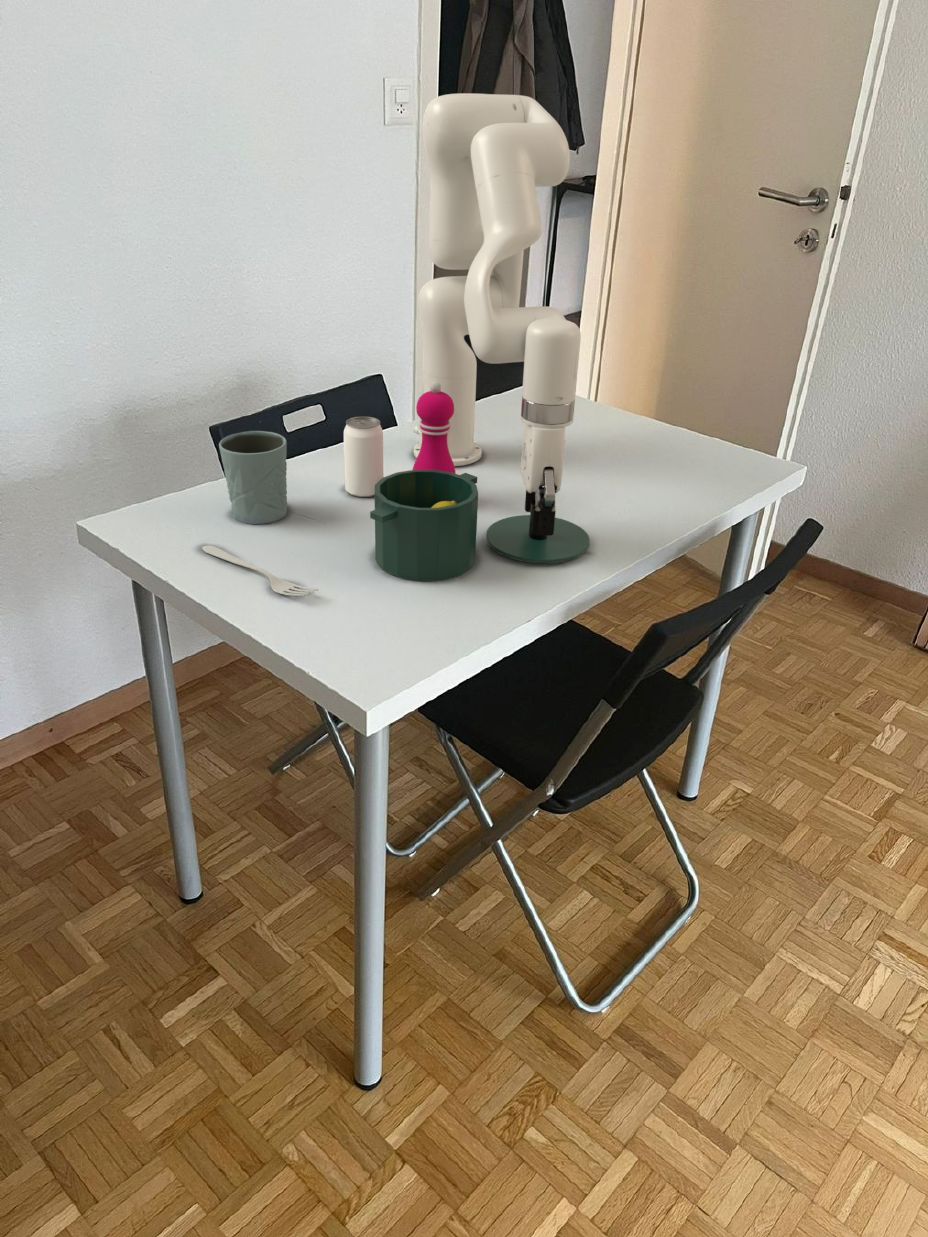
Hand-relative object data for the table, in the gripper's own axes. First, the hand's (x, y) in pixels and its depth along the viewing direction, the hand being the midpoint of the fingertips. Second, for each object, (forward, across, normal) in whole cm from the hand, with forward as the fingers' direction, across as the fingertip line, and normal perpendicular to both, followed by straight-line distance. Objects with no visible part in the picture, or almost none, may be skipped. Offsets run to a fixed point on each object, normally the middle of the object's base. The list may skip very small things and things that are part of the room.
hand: (538, 522), depth 148 cm
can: (+4, -20, -27) cm, 34 cm away
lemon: (+2, +5, -17) cm, 18 cm away
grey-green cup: (+4, -11, -43) cm, 45 cm away
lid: (+3, 0, 0) cm, 3 cm away
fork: (+4, +10, -42) cm, 43 cm away
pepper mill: (+4, -16, -15) cm, 23 cm away
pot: (+4, +5, -17) cm, 18 cm away
